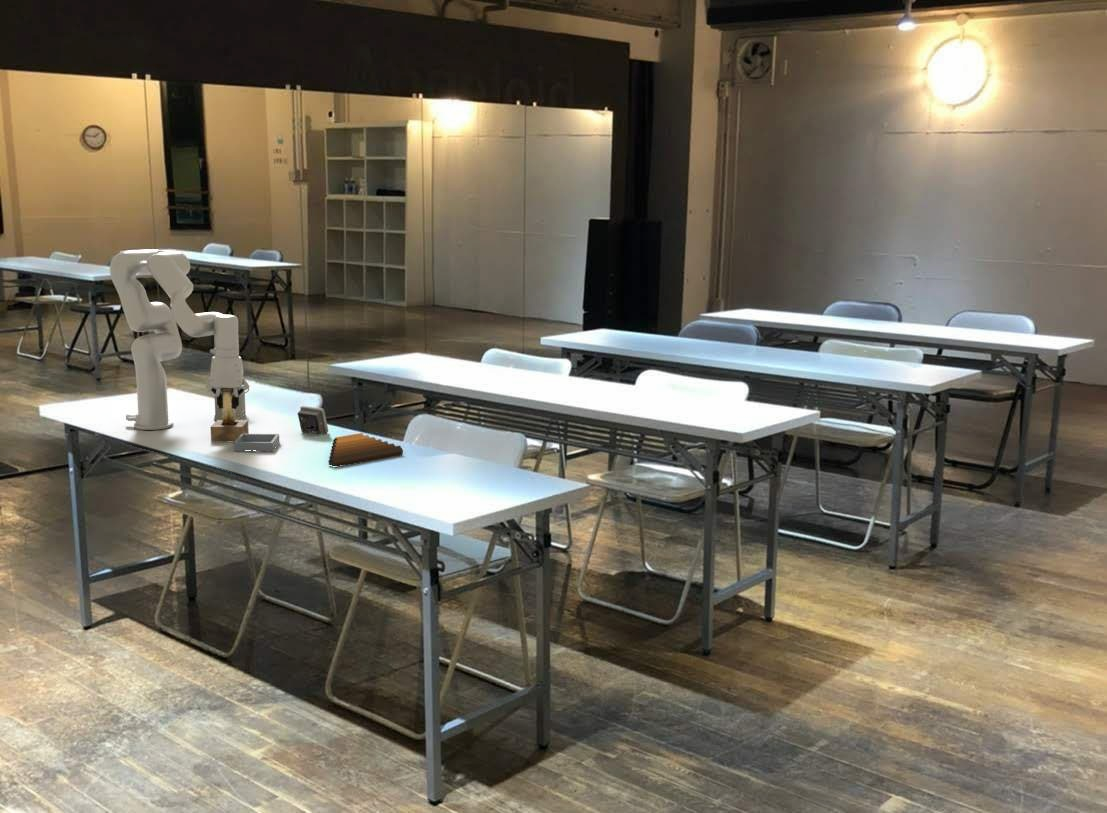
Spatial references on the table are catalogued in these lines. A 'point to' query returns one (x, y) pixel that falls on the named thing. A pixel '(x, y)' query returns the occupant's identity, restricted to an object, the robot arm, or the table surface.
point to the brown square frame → (228, 430)
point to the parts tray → (256, 442)
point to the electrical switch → (312, 420)
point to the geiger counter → (238, 411)
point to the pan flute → (360, 449)
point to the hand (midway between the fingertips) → (228, 407)
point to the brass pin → (227, 406)
